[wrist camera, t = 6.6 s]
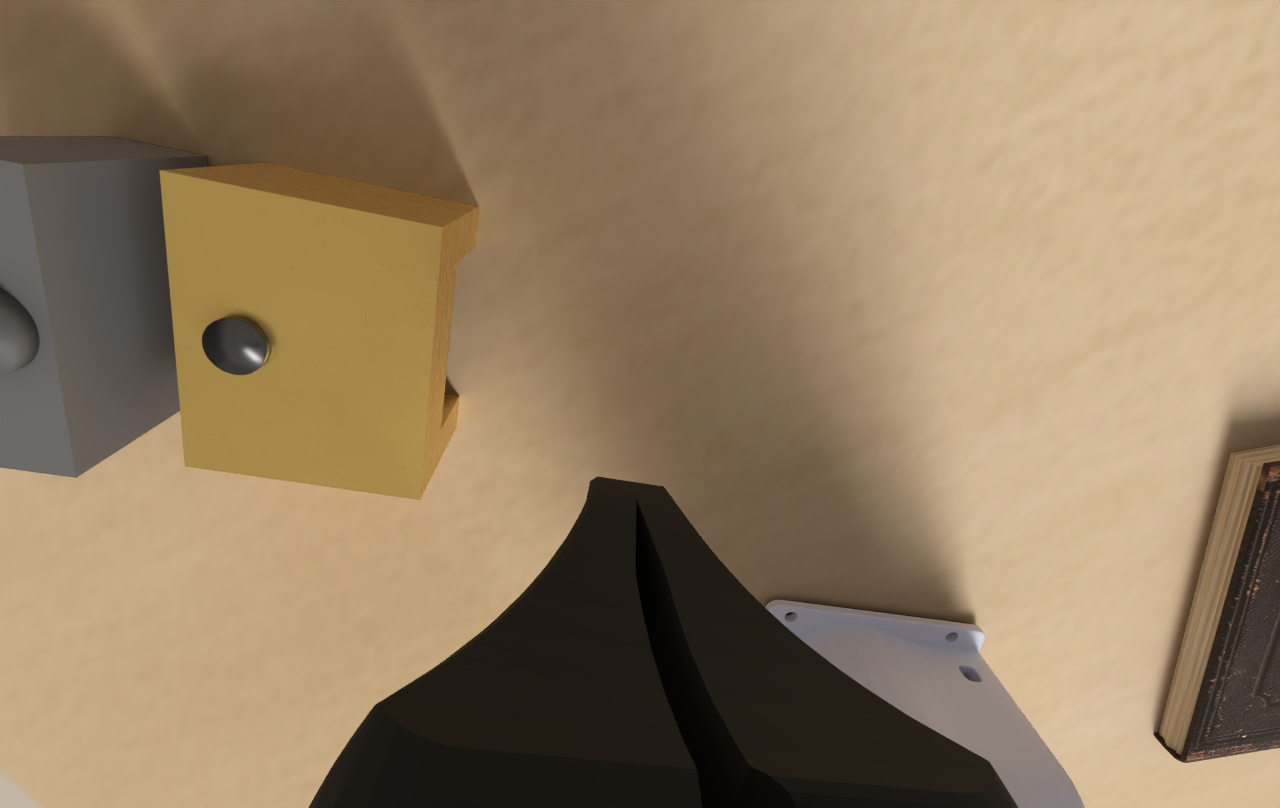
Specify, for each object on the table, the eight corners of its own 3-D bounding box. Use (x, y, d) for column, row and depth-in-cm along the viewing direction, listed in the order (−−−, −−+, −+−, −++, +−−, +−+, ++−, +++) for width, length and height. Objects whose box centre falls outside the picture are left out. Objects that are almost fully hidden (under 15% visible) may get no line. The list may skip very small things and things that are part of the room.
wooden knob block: (479, 206, 18) (439, 228, 14) (456, 427, 21) (416, 506, 17) (266, 162, 18) (149, 170, 13) (271, 398, 20) (177, 472, 16)
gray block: (407, 196, 18) (309, 225, 12) (396, 411, 21) (310, 524, 15) (110, 136, 17) (-163, 135, 11) (137, 370, 20) (-70, 474, 14)
